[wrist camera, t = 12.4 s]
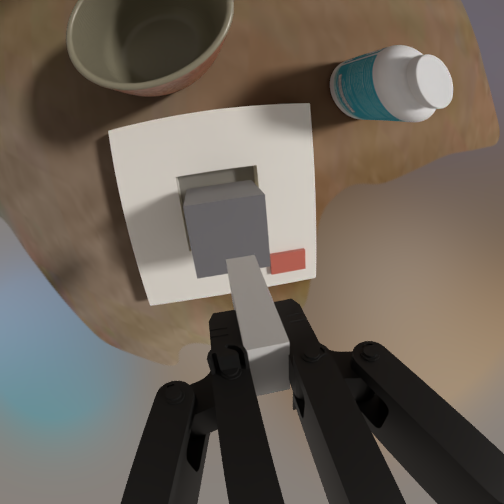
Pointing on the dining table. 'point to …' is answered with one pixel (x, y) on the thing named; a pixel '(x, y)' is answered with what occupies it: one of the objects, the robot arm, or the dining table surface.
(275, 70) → the dining table surface
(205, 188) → the plug
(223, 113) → the socket plate
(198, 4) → the planter
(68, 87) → the dining table surface
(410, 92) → the pill bottle
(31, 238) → the dining table surface
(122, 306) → the dining table surface
